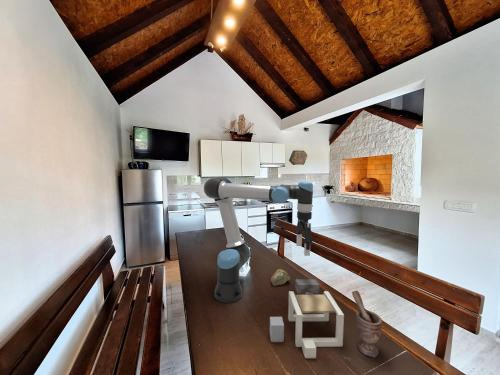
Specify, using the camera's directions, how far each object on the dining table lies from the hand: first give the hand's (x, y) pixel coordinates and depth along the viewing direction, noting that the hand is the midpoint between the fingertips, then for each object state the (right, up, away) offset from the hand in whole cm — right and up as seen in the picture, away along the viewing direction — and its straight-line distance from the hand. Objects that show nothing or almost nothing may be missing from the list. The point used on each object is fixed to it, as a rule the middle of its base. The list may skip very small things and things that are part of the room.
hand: (302, 250), depth 115 cm
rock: (-11, -24, +16) cm, 31 cm away
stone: (-17, -28, -27) cm, 42 cm away
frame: (-1, -27, -24) cm, 36 cm away
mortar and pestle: (+16, -28, -31) cm, 45 cm away
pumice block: (-6, -28, -35) cm, 45 cm away
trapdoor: (-1, -15, -21) cm, 26 cm away
